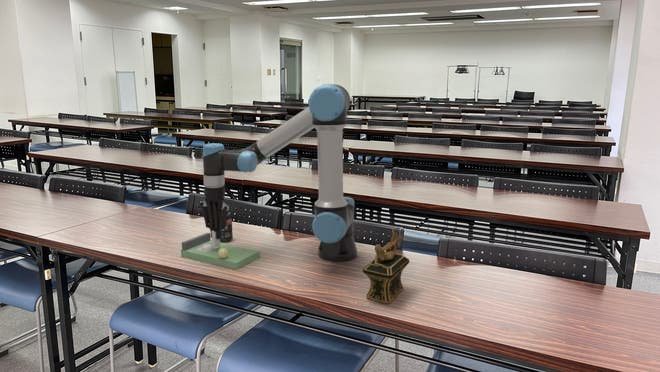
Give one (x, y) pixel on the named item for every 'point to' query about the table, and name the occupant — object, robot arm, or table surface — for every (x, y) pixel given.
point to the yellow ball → (223, 253)
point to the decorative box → (386, 272)
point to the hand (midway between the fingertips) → (216, 246)
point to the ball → (206, 247)
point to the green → (233, 260)
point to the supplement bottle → (227, 231)
